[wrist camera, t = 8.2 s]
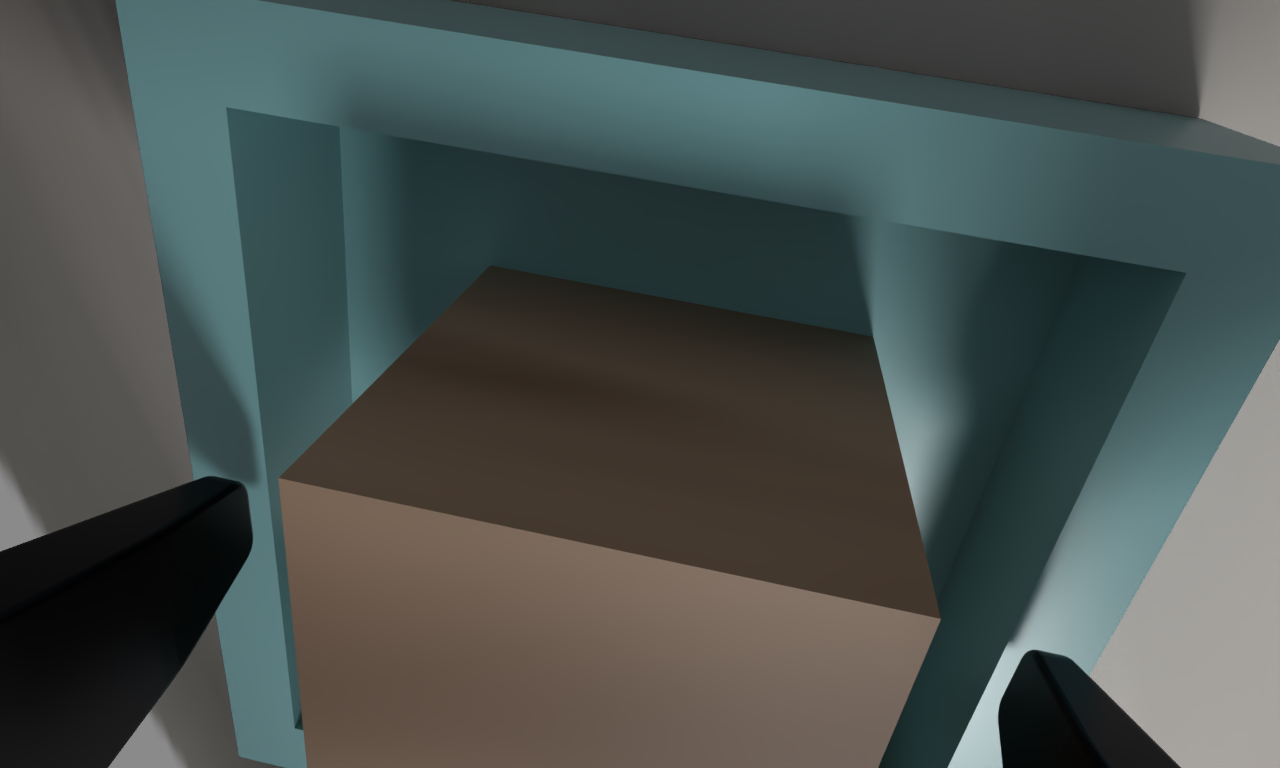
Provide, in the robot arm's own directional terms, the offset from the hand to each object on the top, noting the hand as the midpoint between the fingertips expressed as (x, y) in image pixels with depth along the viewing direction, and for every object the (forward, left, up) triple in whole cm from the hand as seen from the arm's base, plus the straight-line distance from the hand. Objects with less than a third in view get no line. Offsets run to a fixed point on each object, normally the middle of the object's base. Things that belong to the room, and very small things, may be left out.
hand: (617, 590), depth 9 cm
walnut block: (0, 0, -3) cm, 3 cm away
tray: (0, 0, -4) cm, 4 cm away
